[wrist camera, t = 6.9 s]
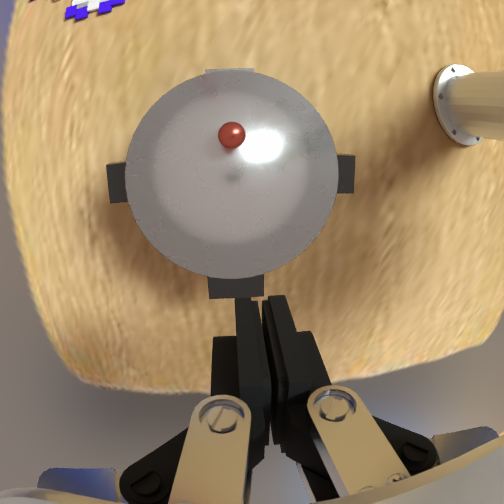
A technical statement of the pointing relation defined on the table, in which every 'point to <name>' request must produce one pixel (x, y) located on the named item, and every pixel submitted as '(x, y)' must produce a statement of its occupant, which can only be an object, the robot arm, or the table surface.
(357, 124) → the table surface
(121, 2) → the building block set
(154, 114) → the lid
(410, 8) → the table surface
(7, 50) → the table surface
